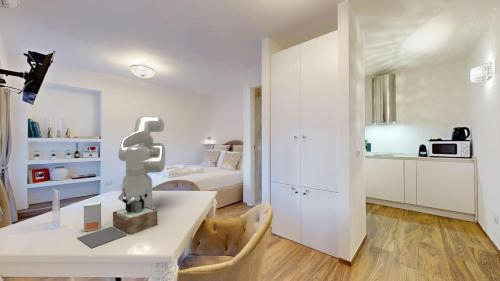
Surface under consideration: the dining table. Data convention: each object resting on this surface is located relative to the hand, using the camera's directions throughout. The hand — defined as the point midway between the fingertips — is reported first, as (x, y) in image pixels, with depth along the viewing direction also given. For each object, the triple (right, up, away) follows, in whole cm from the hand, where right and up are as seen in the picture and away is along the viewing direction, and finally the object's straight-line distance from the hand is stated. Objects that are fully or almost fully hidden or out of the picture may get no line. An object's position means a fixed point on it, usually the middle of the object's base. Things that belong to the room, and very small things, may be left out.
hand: (135, 209), depth 101 cm
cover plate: (0, -2, 0) cm, 2 cm away
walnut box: (0, -8, 0) cm, 8 cm away
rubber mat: (-8, -8, -12) cm, 16 cm away
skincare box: (-18, -8, -4) cm, 20 cm away
